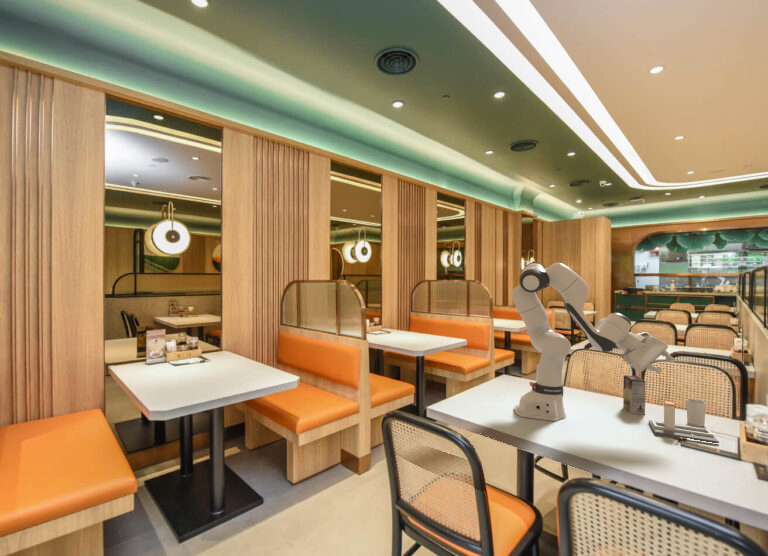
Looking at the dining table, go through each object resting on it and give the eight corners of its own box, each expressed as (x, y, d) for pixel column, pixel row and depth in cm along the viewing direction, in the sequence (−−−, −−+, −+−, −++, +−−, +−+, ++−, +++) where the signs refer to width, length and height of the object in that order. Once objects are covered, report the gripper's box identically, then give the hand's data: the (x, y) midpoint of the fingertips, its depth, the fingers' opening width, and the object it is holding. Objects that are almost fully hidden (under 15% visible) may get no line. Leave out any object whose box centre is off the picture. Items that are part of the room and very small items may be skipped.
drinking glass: (689, 425, 162) (689, 402, 162) (683, 420, 169) (683, 398, 169) (708, 427, 160) (708, 404, 160) (701, 422, 166) (701, 399, 166)
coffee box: (622, 407, 185) (622, 374, 185) (636, 408, 184) (637, 375, 184) (630, 413, 176) (631, 379, 176) (646, 414, 175) (646, 380, 175)
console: (655, 435, 152) (655, 429, 152) (648, 423, 164) (648, 417, 164) (718, 445, 143) (718, 438, 143) (706, 432, 155) (706, 426, 155)
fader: (665, 428, 155) (665, 403, 155) (663, 425, 158) (664, 401, 158) (674, 430, 153) (674, 404, 153) (672, 427, 156) (672, 402, 156)
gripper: (621, 351, 156) (656, 373, 146) (648, 330, 164) (683, 349, 154) (617, 361, 160) (650, 383, 150) (643, 340, 168) (676, 359, 158)
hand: (667, 366), depth 152 cm, fingers open, 8 cm apart
